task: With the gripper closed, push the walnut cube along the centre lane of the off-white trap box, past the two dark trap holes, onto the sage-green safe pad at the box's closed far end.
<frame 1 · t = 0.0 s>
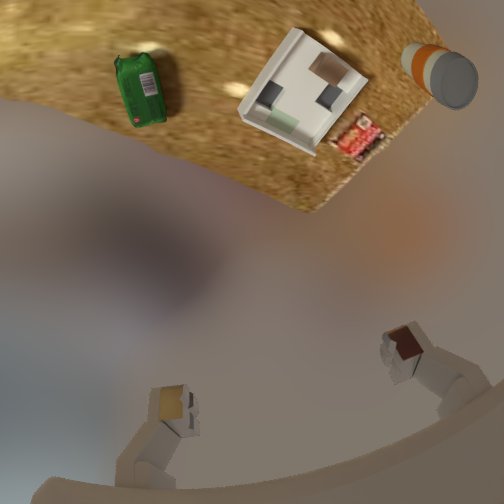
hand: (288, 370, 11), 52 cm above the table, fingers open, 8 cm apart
walnut cube: (323, 66, 46), point 2 cm above the table, touching trap box
snack package: (143, 86, 45), on the table
trap box: (300, 87, 51), on the table
reusable coffee cup: (415, 59, 47), on the table
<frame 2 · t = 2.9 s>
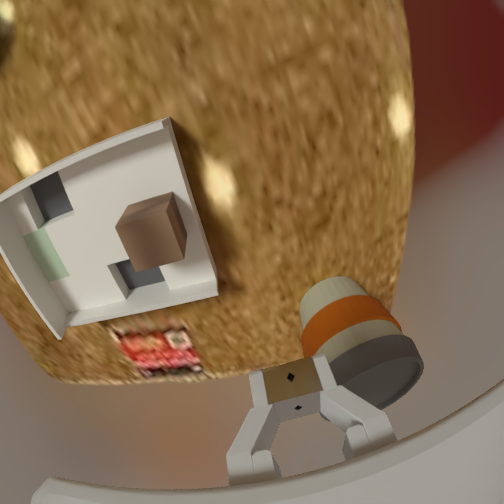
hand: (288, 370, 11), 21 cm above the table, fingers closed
walnut cube: (157, 219, 26), point 2 cm above the table, touching trap box
trap box: (106, 226, 28), on the table
reusable coffee cup: (330, 302, 39), on the table
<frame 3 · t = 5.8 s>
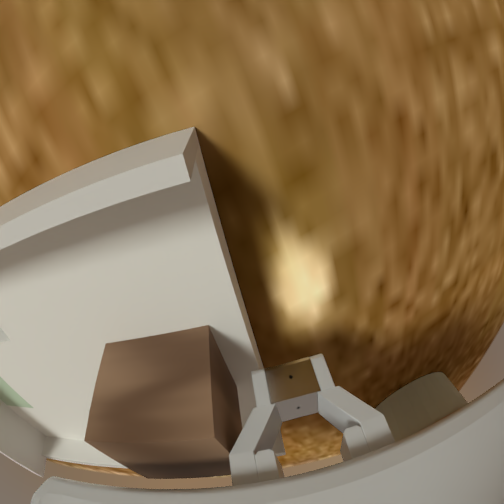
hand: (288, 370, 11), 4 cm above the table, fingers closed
walnut cube: (174, 368, 12), point 3 cm above the table, touching gripper
trap box: (76, 345, 14), on the table
reusable coffee cup: (408, 398, 24), on the table
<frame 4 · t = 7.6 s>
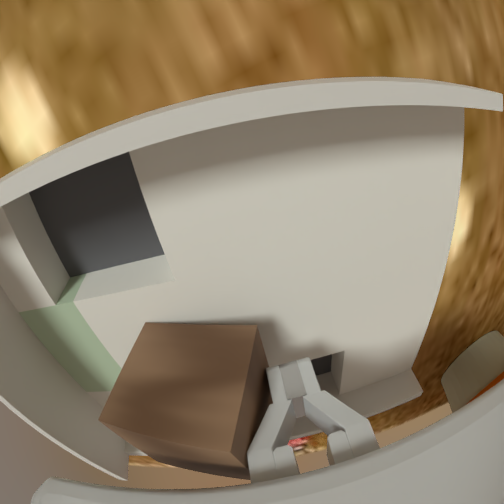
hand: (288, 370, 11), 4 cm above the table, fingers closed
walnut cube: (213, 359, 11), point 3 cm above the table, tilted 17°, touching gripper, trap box
trap box: (231, 293, 14), on the table
reusable coffee cup: (470, 358, 24), on the table
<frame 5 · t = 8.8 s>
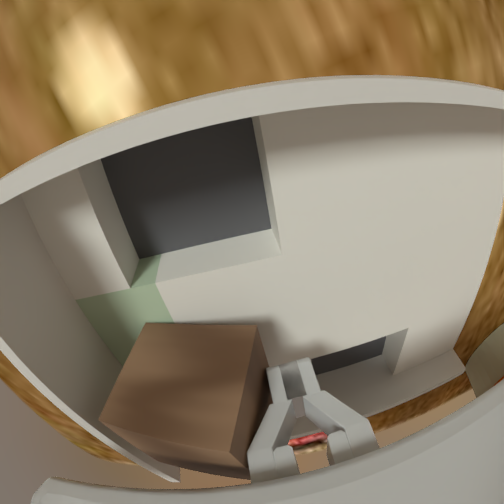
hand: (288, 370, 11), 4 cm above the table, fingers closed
walnut cube: (214, 359, 11), point 3 cm above the table, tilted 17°, touching gripper, trap box
trap box: (309, 274, 14), on the table
reusable coffee cup: (491, 345, 24), on the table
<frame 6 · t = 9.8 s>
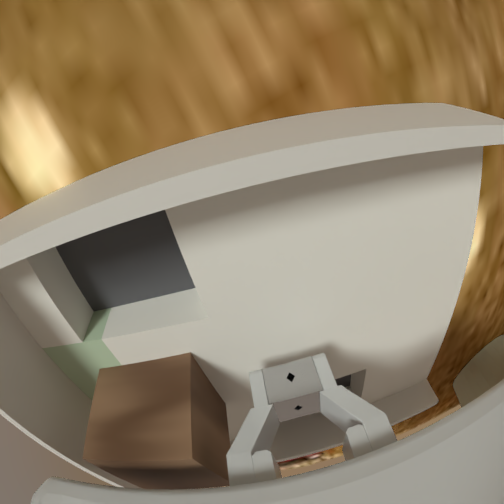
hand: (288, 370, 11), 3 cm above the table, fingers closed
walnut cube: (165, 389, 12), point 2 cm above the table, touching trap box
trap box: (257, 320, 14), on the table
reusable coffee cup: (480, 361, 24), on the table
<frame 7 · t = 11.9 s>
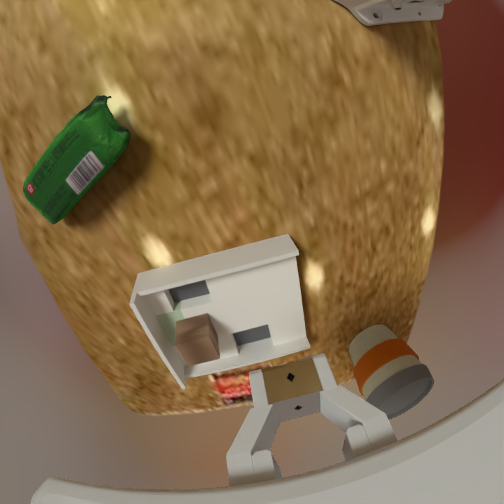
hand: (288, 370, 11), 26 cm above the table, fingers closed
walnut cube: (197, 328, 39), point 2 cm above the table, touching trap box
snack package: (81, 159, 29), on the table
trap box: (228, 305, 41), on the table
reusable coffee cup: (369, 341, 52), on the table
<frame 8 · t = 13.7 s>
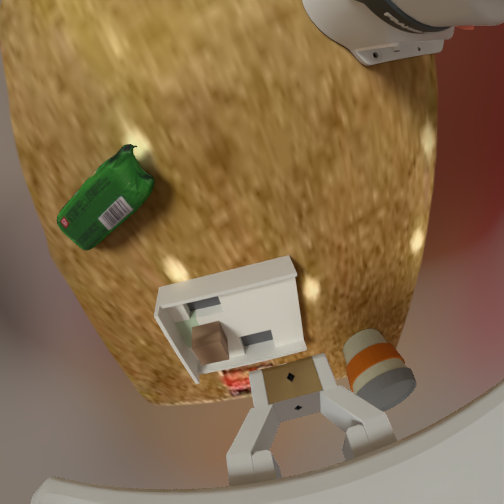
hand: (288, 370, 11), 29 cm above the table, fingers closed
walnut cube: (209, 333, 46), point 2 cm above the table, touching trap box
snack package: (108, 194, 35), on the table
trap box: (236, 312, 48), on the table
reusable coffee cup: (361, 342, 58), on the table
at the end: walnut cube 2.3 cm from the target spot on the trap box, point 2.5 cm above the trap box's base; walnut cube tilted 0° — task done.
